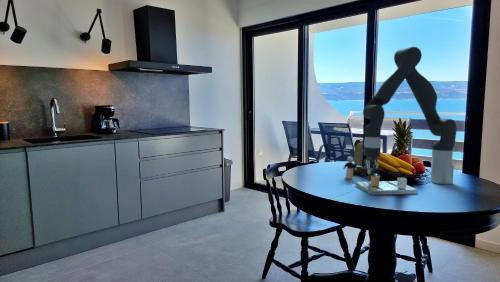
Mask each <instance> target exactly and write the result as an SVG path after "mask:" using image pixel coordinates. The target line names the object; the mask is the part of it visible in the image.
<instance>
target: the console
mask: <svg viewBox="0 0 500 282" xmlns="http://www.w3.org/2000/svg"><path fill="white" fill-rule="evenodd" d="M355 187H356V188H357V189H359V190H361V191H363V192H364V193H366V194H368V195H370V196H374V195H375V196H378V195H379V196H380V195H382V196H383V195H385V196H386V195H417V194H418V189H416V188H415V187H412V186H410V185H408V184H407V186H406V189H400V188H398V187H397V180H392V181H391V180H389V181H388V180H387V181H386V180H385V181H384V180H383V181H382V180H381V181H380V180H379V186H372V185H371V182H370V181H355Z"/></svg>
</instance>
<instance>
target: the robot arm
mask: <svg viewBox="0 0 500 282" xmlns="http://www.w3.org/2000/svg"><path fill="white" fill-rule="evenodd" d="M422 55H423V54H422V52H421V49H420V48H418V47H417V46H409V47H405V48H400V49H398V50H396V51H395V53H394V56H393V59H394V60H393V61H394V63H395V65H396V67H397V69H395V71H394V72H393V73H392V74H391V75H390V76H388V78H386V80H384V81H383V83H382V85H381V86H380V87H379V89H378V91H377V92H376V94H375V95H374V96H373V97H372V98H371V99H370V100H369V101H368V102H367V104H366V105H365V106H364V107H363V112H362V115H363V116H364V117H363V118H365V119H367V120H369V124H367V125H365V128H364V131H365V132H364V139H363V140H364V141H363V143H364V151H363V152H364V155H363V156H365V157H367V158H366V161H364V164H365V168H366V171H367V172H368V174H367V175H368V178H367V182H371V176H375V175H377V174H378V172H379V169H380V167H381V165H380V164H378V162H379V161H378V158H379V157H380V156H381V148H382V146H381V144H382V143H381V142H382V141H381V136H382V135H381V134H382V133H381V132H382V130H381V129H382V126H383V123H384V119H385V108H384V107H383V106H385V105H387V104H388V103H389V102H390V101H391V99H392V98H393V96H394V95H395V93H396V92H397V90H398V89H399V87H400V86H401V84H403V82H404V81H406V82H407V85H408V86H409V88H410V90H411V92H412V94H413V96H414V99H415V100H416V102H417V104H418V105H419V108H420V110H421V112H422V114H423V116H424V118H425V119H424V120H425V121H426V124H427V126H428V129H429V131H430V133H431V134H432V135H433V136H435V137H440V139H439V141H438V142H434V143H433V144H432V147H431V149H432V151H431V166H430V167H431V168H430V182H431V183H432V184H439V185H451V184H453V183H454V182H453V181H454V169H455V167H454V166H455V165H454V164H453V155H454V154H453V151H454V146H455V143H456V138H457V137H456V136H457V124H456V122H455V120H454V119H452V118H441V117H440V115H439V113H438V111H437V102H438V95H437V92H436V89H435V88H434V86H433V84H432V83H431V82H430V81H429V80H428V79H427V78H426V77H424V75H422V74H421V73H420V72H419V71H418V70H417V68H416V67H417V66H418V65H419V63H420V62H421V61H422V60H421V59H422Z"/></svg>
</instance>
